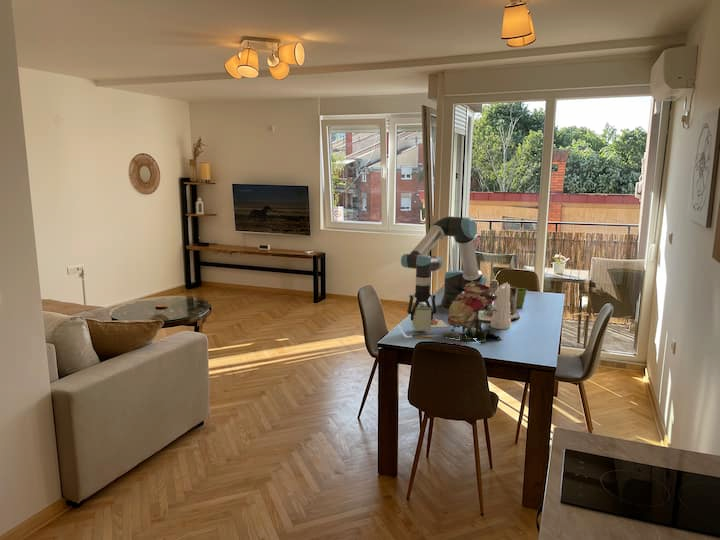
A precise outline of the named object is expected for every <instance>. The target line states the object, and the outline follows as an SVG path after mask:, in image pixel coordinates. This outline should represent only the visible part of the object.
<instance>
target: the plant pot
mask: <svg viewBox="0 0 720 540" xmlns="http://www.w3.org/2000/svg"><path fill="white" fill-rule="evenodd" d="M527 292H528V289H526V288H518V291H517V304H516V309H518V308H523V306H524V302H525V297H526V295H527Z"/></svg>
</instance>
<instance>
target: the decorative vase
mask: <svg viewBox="0 0 720 540" xmlns="http://www.w3.org/2000/svg"><path fill="white" fill-rule="evenodd" d="M510 286H511V284H510V283H508V281H507V282H504V283H502V284H500V285H499V287H497V288H496V290H494V291H495V292H494V295H493V296H497V298H496V300H495V301H493V305H492V308H493V309H496V310H498V312H496V311H492V316H491V318H490V327H491V328H492V329H498V330H509V329H510V328H511V324H512V319H511V313H510Z"/></svg>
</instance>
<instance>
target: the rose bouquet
mask: <svg viewBox="0 0 720 540" xmlns="http://www.w3.org/2000/svg"><path fill="white" fill-rule="evenodd" d="M465 286H466V287H464V290H465V292H462V294H459V295H457V298H456V299H454V301H452V302H453V303H452V304H451V306H450V307H449V308H448V313H449V315H448V317H447V323H448V324H449V325H450V326H451V327H452V329H451V330H450V332H444V333H443V338H444V337H447V338H455V339H460V340H459V342H461V341H462V342H463V343H465V342H466V343H465V344H468V343H470V342H476V341H475V340H474V339H473V338H477V340H478V339H479V341H481V342H479V343H481V344H480V345H482V344H483V342H489V339H487V338H486V337H487V336H491V337H493V338H497V341H498V340H500V341H501V340H502V338H501V336H500V335H496V334H495V333H492V332H493V330H494V328H490V329H482V323H484V322H485V321H484V320H481V321H480V318H479V312H487V311H488V312H489V311H492V312H493V311H496V312H498V310H496V309H493V307H490V305H491V304H492V303H494V301H495V300H496V298H497V296H494V295H491V292H492V288H491V286H487V285H486V286H485V285H482V284H480V283H478V282H474V281H471V283H468V284H466V285H465ZM449 325H448V326H449ZM461 327H462V333H456V332H455V328H458V329H459V328H461ZM466 329H467V333H468V334H467V335H468V336H467V335H466V336H467V337H466V336H465V334H466V333H465V331H466ZM459 337H460V338H459ZM469 337H471V338H469ZM467 342H468V343H467Z"/></svg>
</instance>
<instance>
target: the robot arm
mask: <svg viewBox="0 0 720 540" xmlns="http://www.w3.org/2000/svg"><path fill="white" fill-rule="evenodd" d="M428 230H429V231H428V232H427V233H426V235H425V236H424V237H422V239H421V240H420V241H419V242H418V244H417V245H416V246H415V247H414V248H413V249H412V251H411V252H410V253H405V254H403V255H402V256H401V257H400V258H401V259H400V265H401V266H402V267H403V268H407V269H414V270H415V269H416V270H415V290H414V291H415V293H414V294H412V295H411V294H409V301H408V307H407V310H406V311H407V314H408V315H410V320H411V322H412V323H411V324H412V328H413V327H415V314H414V313H415V307H417V306H418V305H420V304H421V303H422V302H423V303H425V305H427V306H428V307H431V320H433V318H434V314H437V305H436V295H435V294H431V285H430V284H431V272H435V271H437V270H440V269H441V267H442V266H443V261H442V259H441V257H439V256H438V255H437V256H436V255H433V256H431V255H428V253H429V252H430V251H431V250H432V249H433V248H434V247H435V245H436V244H437V243H438V241H440V240H443V238H444V237H454V241H455V242H456V243H457V244H458V248H459V254H460V258H461V262H462V267H463V270H460V269H456V270H449V271H448V270H447V271H446V272H445V274H444V284H443V285H444V286H443V287H444V289H443V290H444V293H443V296H442V299H441V302H440V306H441V307H443V308H447V309H449V307H450V306H451V304H452V303H453V302H452V301H454V299H456V298H457V295H459V294H462V293H464V292H465V290H464V287H466V286H465V285H466V284H468V283H471V281H474V282H478V283H480V284H482V285H485V286H487V277H486V276H485V275H482V271H481V270H480V269H479V267H478V262H477V258H476V257H477V256H476V251H475V247H474V239H475V237H476V235H477V234H478V233H477V232H478V225H477V223H476V220H475V219H474V218H472V217H467V216H463V217H459V216H445V217H444V216H443V217H442V218H440V219H439V220H437V221H435V222H434V223H433V224H432V225H431V226H430V227H429V229H428ZM430 298H431V304H430V300H429V299H430ZM414 299H416V300H415V302H414ZM413 302H414V304H413ZM413 305H414V306H413Z"/></svg>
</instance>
